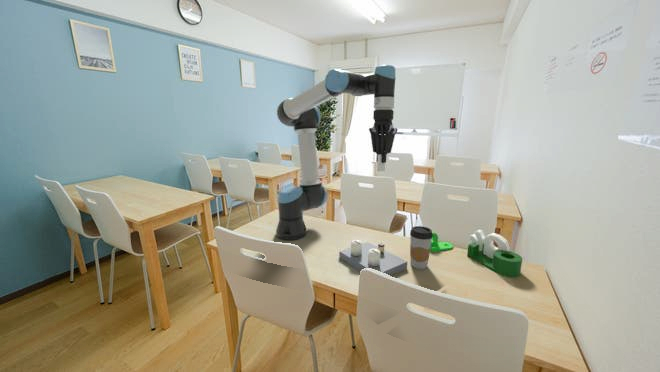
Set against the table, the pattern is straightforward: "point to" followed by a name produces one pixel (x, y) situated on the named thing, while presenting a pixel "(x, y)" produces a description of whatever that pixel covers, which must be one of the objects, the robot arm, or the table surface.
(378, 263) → the knob
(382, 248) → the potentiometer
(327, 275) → the table surface
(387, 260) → the plate
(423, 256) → the coffee cup
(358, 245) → the knob
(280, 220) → the robot arm
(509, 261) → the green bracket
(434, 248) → the mechanical part
